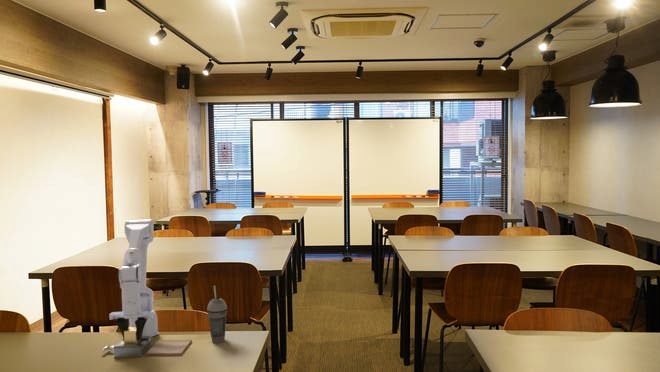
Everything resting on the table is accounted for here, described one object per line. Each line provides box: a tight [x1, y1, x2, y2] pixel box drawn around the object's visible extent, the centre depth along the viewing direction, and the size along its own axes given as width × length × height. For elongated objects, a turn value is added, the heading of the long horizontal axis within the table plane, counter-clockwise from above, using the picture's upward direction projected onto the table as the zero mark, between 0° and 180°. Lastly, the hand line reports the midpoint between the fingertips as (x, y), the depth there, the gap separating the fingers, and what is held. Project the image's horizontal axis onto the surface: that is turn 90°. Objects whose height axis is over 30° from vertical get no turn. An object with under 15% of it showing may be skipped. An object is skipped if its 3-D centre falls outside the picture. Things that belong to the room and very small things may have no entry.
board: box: [144, 339, 193, 357], centre depth 165 cm, size 12×12×1 cm
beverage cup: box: [206, 285, 228, 344], centre depth 171 cm, size 7×7×20 cm
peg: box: [124, 326, 141, 344], centre depth 162 cm, size 4×4×8 cm
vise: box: [101, 336, 152, 358], centre depth 162 cm, size 9×14×4 cm, turn 90°
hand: (132, 339), depth 162 cm, fingers closed on peg, 4 cm apart
